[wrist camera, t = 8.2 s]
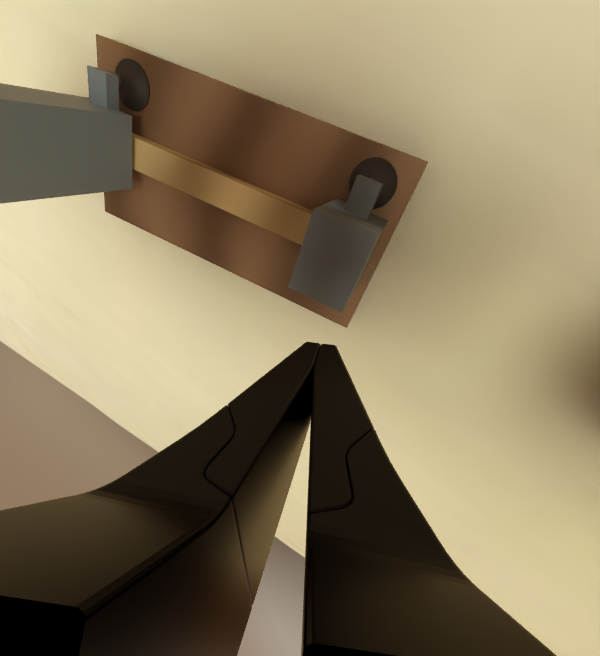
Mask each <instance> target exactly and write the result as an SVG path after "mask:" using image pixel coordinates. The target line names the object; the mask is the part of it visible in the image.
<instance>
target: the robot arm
mask: <svg viewBox="0 0 600 656" xmlns="http://www.w3.org/2000/svg"><path fill="white" fill-rule="evenodd" d="M310 421H311V432H310V456H309V480H308V505H307V529H306V553H305V578H304V579H305V580H304V601H303V602H304V603H303V626H302V649H301V656H556V655H555V654H554V653H553V652H552V651H550V650H549V649H548V648H547V647H546V646H545V645H543V644H542V643H541V642H540V641H539V640H538V639H537V638H535V637H534V636H533V635H532V634H531V633H530V632H528V631H527V630H526V629H525V628H524V627H523V626H521V625H520V624H519V623H518V622H517V621H516V620H514V619H513V618H512V617H511V616H510V615H509V614H508V613H506V612H505V611H504V610H503V609H502V608H501V607H499V606H498V605H497V604H496V603H495V602H494V601H492V600H491V599H490V598H489V597H488V596H487V595H486V594H484V593H483V592H482V591H481V590H480V589H479V588H477V587H476V586H475V585H474V584H473V583H472V582H471V581H470V580H469V579H468V578H467V577H466V576H465V575H464V574H463V572H462V571H461V570H460V569H459V568H458V566H457V565H456V564H455V563H454V562H453V560H452V559H451V558H450V556H449V555H448V553H447V552H446V551H445V549H444V547H443V546H442V544H441V543H440V541H439V540H438V538H437V537H436V535H435V533H434V532H433V530H432V529H431V527H430V525H429V524H428V522H427V521H426V519H425V517H424V516H423V514H422V513H421V511H420V509H419V508H418V506H417V505H416V503H415V501H414V500H413V498H412V497H411V495H410V493H409V492H408V490H407V489H406V487H405V486H404V484H403V482H402V481H401V479H400V477H399V475H398V474H397V472H396V470H395V469H394V467H393V465H392V464H391V462H390V460H389V458H388V456H387V454H386V452H385V450H384V448H383V446H382V444H381V442H380V440H379V438H378V436H377V433H376V431H375V430H374V427H373V425H372V423H371V421H370V419H369V416H368V414H367V412H366V410H365V408H364V406H363V403H362V401H361V399H360V397H359V395H358V393H357V390H356V388H355V386H354V384H353V382H352V379H351V377H350V375H349V373H348V371H347V369H346V366H345V364H344V362H343V360H342V358H341V356H340V353H339V351H338V349H337V347H336V346H335V345H328V344H322V345H320V344H319V343H312V342H306V343H304V344H303V345H302V346H301V347H299V348H298V349H297V350H295V351H294V352H293V353H292V354H290V355H289V356H288V357H287V358H285V359H284V360H283V361H282V362H280V363H279V364H278V365H277V366H275V367H274V368H273V369H271V370H270V371H269V372H268V373H266V374H265V375H264V376H263V377H261V378H260V379H259V380H258V381H256V382H255V383H254V384H253V385H251V386H250V387H249V388H247V389H246V390H245V391H244V392H242V393H241V394H240V395H239V396H237V397H236V398H235V399H234V400H232V401H231V402H230V403H229V404H228V406H227V405H226V406H225V407H223V408H222V409H221V410H219V411H218V412H217V413H216V414H214V415H213V416H212V417H210V418H209V419H208V420H206V421H205V422H204V423H202V424H201V425H200V426H198V427H197V428H195V429H194V430H192V431H191V432H189V433H188V434H187V435H185V436H184V437H182V438H181V439H179V440H178V441H176V442H175V443H173V444H171V445H170V446H168V447H167V448H165V449H164V450H162V451H161V452H159V453H157V454H156V455H154V456H153V457H151V458H150V459H148V460H147V461H145V462H143V463H142V464H141V465H139V466H137V467H136V468H134V469H133V470H131V471H129V472H128V473H126V474H125V475H123V476H121V477H120V478H118V479H116V480H115V481H113V482H111V483H109V484H107V485H105V486H102V487H100V488H97V489H95V490H92V491H89V492H86V493H82V494H78V495H74V496H69V497H63V498H59V499H54V500H49V501H44V502H39V503H34V504H29V505H25V506H19V507H14V508H10V509H5V510H0V656H237V653H238V650H239V647H240V644H241V641H242V638H243V634H244V631H245V628H246V625H247V622H248V619H249V615H250V612H251V609H252V604H253V602H254V599H255V596H256V593H257V590H258V587H259V583H260V580H261V577H262V574H263V571H264V568H265V564H266V561H267V558H268V555H269V551H270V548H271V545H272V542H273V539H274V536H275V533H276V529H277V526H278V523H279V520H280V517H281V514H282V510H283V507H284V504H285V501H286V498H287V494H288V491H289V488H290V485H291V482H292V479H293V475H294V472H295V469H296V466H297V463H298V460H299V456H300V453H301V450H302V447H303V444H304V441H305V437H306V434H307V431H308V428H309V424H310Z"/></svg>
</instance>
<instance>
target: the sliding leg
mask: <svg viewBox="0 0 600 656" xmlns="http://www.w3.org/2000/svg"><path fill="white" fill-rule="evenodd" d="M87 69H88V84H89V98H86V97H80V96H74V95H68V94H62V93H56V92H50V91H44V90H38V89H32V88H26V87H20V86H13V85H7V84H1V83H0V203H9V202H18V201H27V200H35V199H44V198H53V197H62V196H71V195H80V194H89V193H98V192H107V191H116V190H125V189H132V116H131V115H128V114H126V113H124V112H121V111H119V89H122V88H123V86H124V81H123V78H122V76H121V75H120V74H118V73H114V72H110V71H105V70H102V69H99V68H95V67H91V66H87Z"/></svg>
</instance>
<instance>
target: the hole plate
mask: <svg viewBox="0 0 600 656" xmlns="http://www.w3.org/2000/svg"><path fill="white" fill-rule="evenodd" d="M96 43H97V62H98V68H99V69H102V70H105V71H110V72H114V73H118V74H120V75H121V76H122V78H123V81H124V86H123V88H122V89H119V111H121V112H124V113H126V114H128V115H131V116H132V189H125V190H116V191H107V192H104V197H105V211H106V212H108V213H110V214H112V215H114V216H116V217H118V218H120V219H122V220H124V221H127V222H129V223H131V224H133V225H135V226H137V227H139V228H141V229H143V230H145V231H147V232H149V233H151V234H153V235H156V236H158V237H160V238H162V239H164V240H166V241H168V242H170V243H172V244H174V245H176V246H178V247H180V248H182V249H184V250H187V251H189V252H191V253H193V254H195V255H197V256H199V257H201V258H203V259H205V260H207V261H209V262H211V263H213V264H216V265H218V266H220V267H222V268H224V269H226V270H228V271H230V272H232V273H234V274H236V275H238V276H240V277H242V278H244V279H247V280H249V281H251V282H253V283H255V284H257V285H259V286H261V287H263V288H265V289H267V290H269V291H271V292H273V293H276V294H278V295H280V296H282V297H284V298H286V299H288V300H290V301H292V302H294V303H296V304H298V305H300V306H302V307H304V308H307V309H309V310H311V311H313V312H315V313H317V314H319V315H321V316H323V317H325V318H327V319H329V320H331V321H333V322H336V323H338V324H340V325H342V326H344V327H346V328H347V326H348V324H349V322H350V320H351V318H352V316H353V314H354V312H355V310H356V308H357V306H358V304H359V302H360V300H361V298H362V296H363V293H364V291H365V289H366V287H367V285H368V283H369V281H370V279H371V277H372V275H373V273H374V271H375V269H376V267H377V265H378V263H379V261H380V259H381V257H382V255H383V253H384V251H385V249H386V247H387V245H388V243H389V241H390V239H391V236H392V234H393V232H394V230H395V228H396V226H397V224H398V222H399V220H400V218H401V216H402V214H403V212H404V210H405V208H406V206H407V204H408V202H409V200H410V198H411V196H412V194H413V192H414V190H415V188H416V186H417V184H418V181H419V179H420V177H421V175H422V173H423V171H424V169H425V167H426V165H427V163H428V162H426V161H424V160H421V159H418V158H416V157H413V156H411V155H408V154H406V153H403V152H400V151H398V150H395V149H393V148H390V147H388V146H385V145H382V144H380V143H377V142H375V141H372V140H369V139H367V138H364V137H362V136H359V135H357V134H354V133H351V132H349V131H346V130H344V129H341V128H339V127H336V126H333V125H331V124H328V123H326V122H323V121H321V120H318V119H315V118H313V117H310V116H308V115H305V114H302V113H300V112H297V111H295V110H292V109H290V108H287V107H284V106H282V105H279V104H277V103H274V102H272V101H269V100H266V99H264V98H261V97H259V96H256V95H253V94H251V93H248V92H246V91H243V90H241V89H238V88H235V87H233V86H230V85H228V84H225V83H223V82H220V81H217V80H215V79H212V78H210V77H207V76H205V75H202V74H199V73H197V72H194V71H192V70H189V69H186V68H184V67H181V66H179V65H176V64H174V63H171V62H168V61H166V60H163V59H161V58H158V57H156V56H153V55H150V54H148V53H145V52H143V51H140V50H137V49H135V48H132V47H130V46H127V45H125V44H122V43H119V42H117V41H114V40H112V39H109V38H106V37H103V36H100V35H98V34H96Z"/></svg>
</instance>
